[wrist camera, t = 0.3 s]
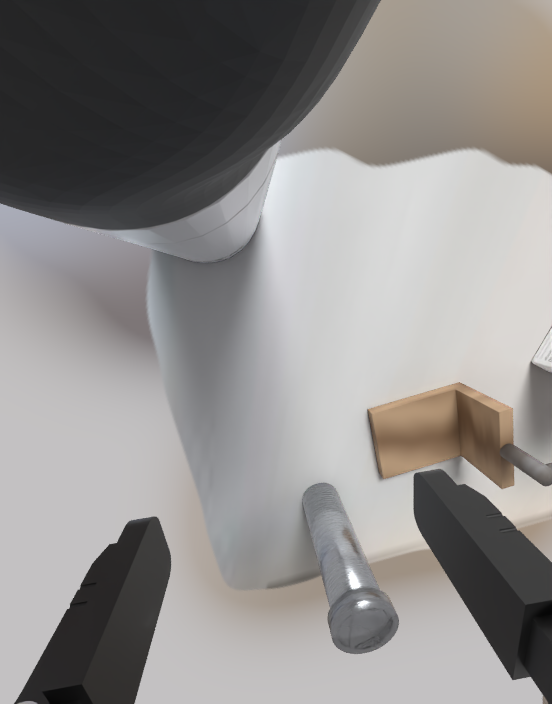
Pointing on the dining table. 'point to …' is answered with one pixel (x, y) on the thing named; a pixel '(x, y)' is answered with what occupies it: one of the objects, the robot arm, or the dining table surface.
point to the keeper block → (451, 435)
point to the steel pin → (347, 576)
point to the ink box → (544, 354)
